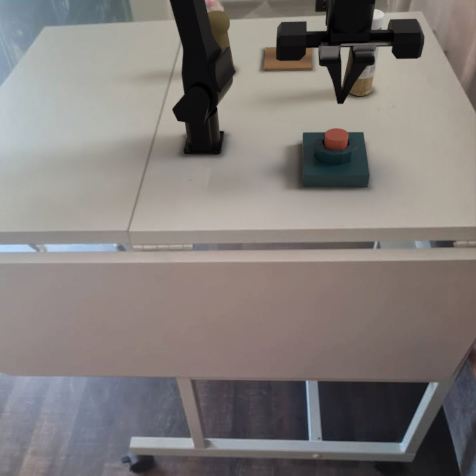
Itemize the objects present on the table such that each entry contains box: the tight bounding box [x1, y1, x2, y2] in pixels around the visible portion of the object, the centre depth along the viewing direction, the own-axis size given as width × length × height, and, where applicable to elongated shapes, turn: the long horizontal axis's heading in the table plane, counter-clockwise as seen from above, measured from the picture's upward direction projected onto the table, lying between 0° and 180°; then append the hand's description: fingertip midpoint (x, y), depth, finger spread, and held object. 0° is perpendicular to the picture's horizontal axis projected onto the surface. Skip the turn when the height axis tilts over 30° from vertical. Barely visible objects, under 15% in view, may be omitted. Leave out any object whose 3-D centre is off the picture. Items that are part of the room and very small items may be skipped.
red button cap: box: [324, 127, 349, 150], centre depth 74 cm, size 4×4×2 cm
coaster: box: [262, 46, 313, 72], centre depth 102 cm, size 10×10×1 cm
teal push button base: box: [301, 131, 371, 188], centre depth 76 cm, size 12×10×4 cm
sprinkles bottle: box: [349, 8, 385, 97], centre depth 87 cm, size 5×5×14 cm
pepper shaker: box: [207, 10, 235, 68], centre depth 96 cm, size 6×6×11 cm
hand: (340, 102), depth 70 cm, fingers closed
